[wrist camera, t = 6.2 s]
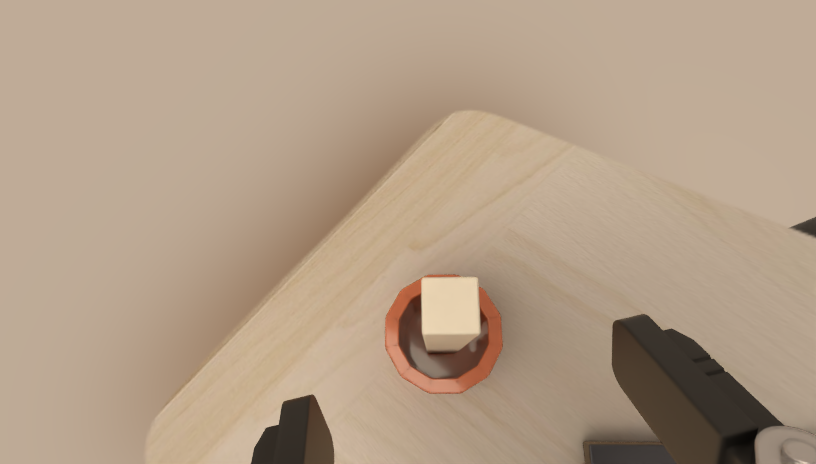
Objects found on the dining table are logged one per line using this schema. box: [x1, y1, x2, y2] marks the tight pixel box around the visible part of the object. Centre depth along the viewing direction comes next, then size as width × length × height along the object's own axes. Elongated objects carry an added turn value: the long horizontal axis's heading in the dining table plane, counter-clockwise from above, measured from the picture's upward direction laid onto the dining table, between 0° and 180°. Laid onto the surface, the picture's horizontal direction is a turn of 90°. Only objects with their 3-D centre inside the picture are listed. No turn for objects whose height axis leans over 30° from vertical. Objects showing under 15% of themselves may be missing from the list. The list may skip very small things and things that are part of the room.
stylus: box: [421, 277, 481, 353], centre depth 18 cm, size 2×2×13 cm
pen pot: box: [385, 274, 503, 394], centre depth 22 cm, size 5×5×6 cm
